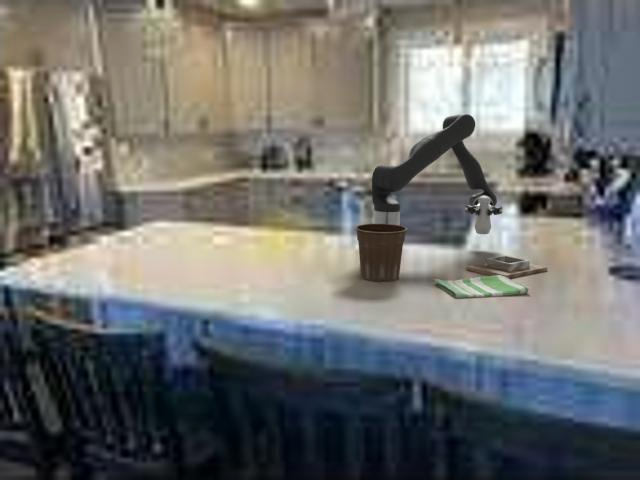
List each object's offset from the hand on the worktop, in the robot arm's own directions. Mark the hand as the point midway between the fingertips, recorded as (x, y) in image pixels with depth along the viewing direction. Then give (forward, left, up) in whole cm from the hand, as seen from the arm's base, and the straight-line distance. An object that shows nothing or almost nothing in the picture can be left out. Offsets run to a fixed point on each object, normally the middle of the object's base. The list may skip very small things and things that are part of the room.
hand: (483, 212), depth 247 cm
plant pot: (-47, +2, -18) cm, 50 cm away
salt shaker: (+2, +2, -8) cm, 8 cm away
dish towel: (-32, -26, -18) cm, 45 cm away
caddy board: (-4, -14, -18) cm, 23 cm away
